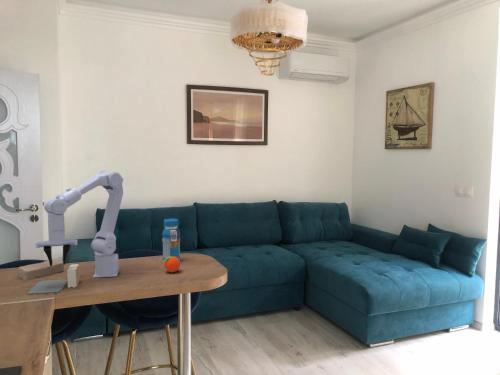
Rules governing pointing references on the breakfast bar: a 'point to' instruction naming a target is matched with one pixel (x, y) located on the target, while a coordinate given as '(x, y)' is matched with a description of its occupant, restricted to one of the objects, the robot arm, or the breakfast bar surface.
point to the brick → (40, 269)
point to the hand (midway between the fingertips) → (57, 264)
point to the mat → (48, 286)
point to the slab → (73, 275)
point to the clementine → (171, 264)
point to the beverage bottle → (171, 239)
